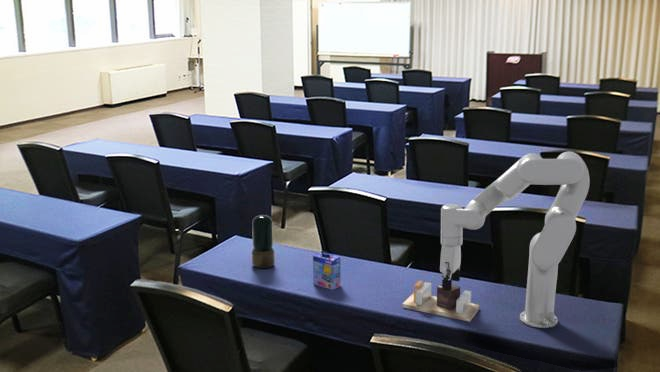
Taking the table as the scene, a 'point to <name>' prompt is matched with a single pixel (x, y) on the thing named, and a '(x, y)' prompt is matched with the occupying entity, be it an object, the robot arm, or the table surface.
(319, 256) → the ink cartridge box
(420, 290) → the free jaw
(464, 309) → the fixed jaw
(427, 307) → the vise base
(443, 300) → the box
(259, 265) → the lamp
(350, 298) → the table surface
